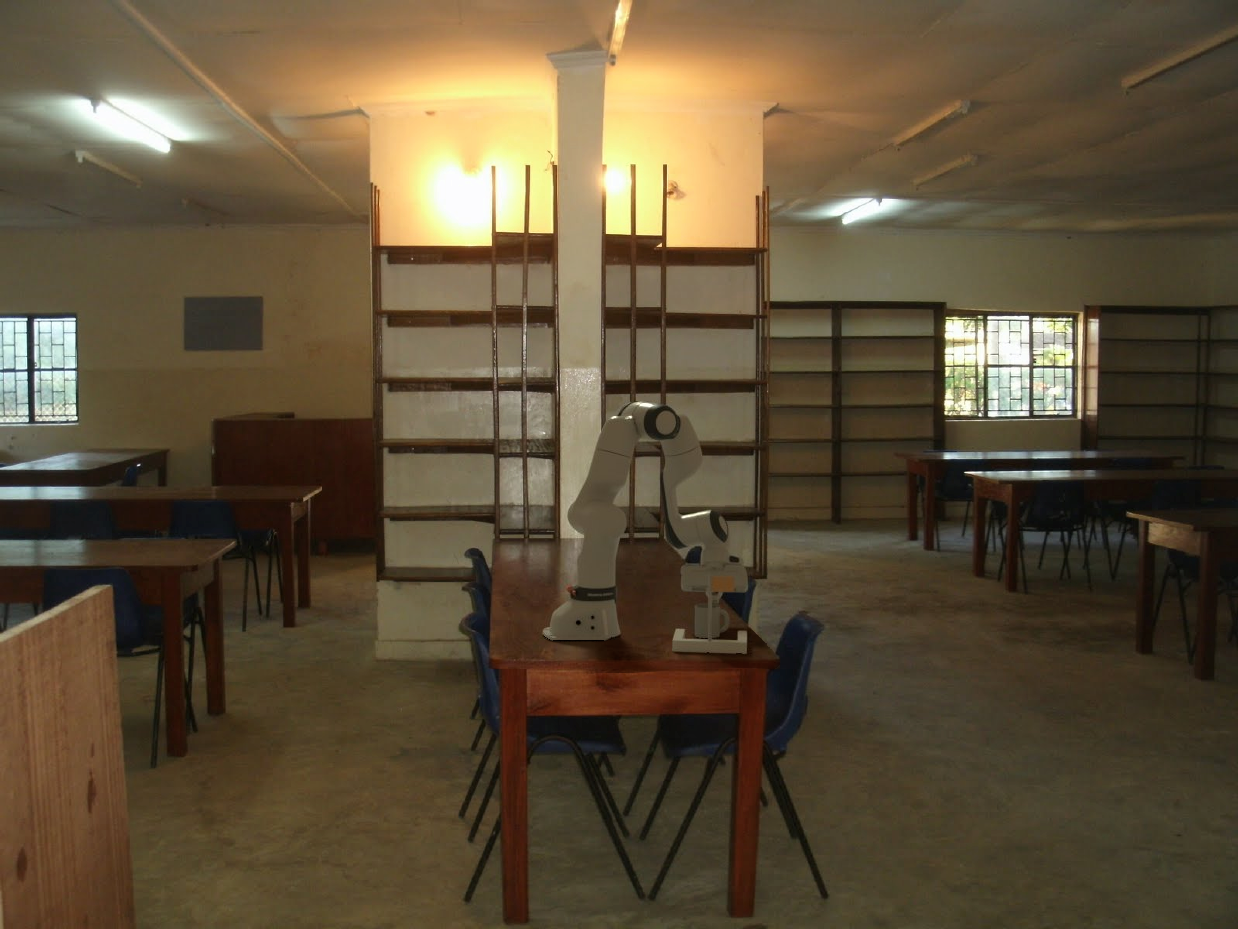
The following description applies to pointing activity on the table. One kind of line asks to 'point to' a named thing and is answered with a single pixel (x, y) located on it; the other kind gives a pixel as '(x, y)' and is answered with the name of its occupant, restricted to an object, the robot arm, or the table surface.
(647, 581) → the table surface
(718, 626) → the cup
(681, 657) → the table surface
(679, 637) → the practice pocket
